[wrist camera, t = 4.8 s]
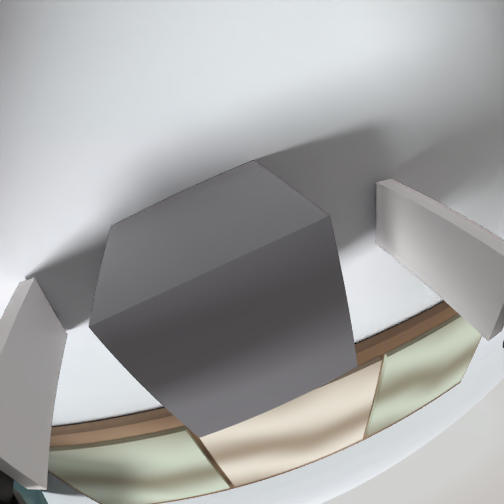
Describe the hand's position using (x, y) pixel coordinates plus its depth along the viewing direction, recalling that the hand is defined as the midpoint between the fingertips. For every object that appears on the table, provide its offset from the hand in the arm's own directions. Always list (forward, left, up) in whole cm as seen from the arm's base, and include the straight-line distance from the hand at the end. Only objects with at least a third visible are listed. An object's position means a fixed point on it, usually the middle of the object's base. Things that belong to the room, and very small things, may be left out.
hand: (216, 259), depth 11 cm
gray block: (0, 0, 0) cm, 0 cm away
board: (+14, +2, 0) cm, 14 cm away
